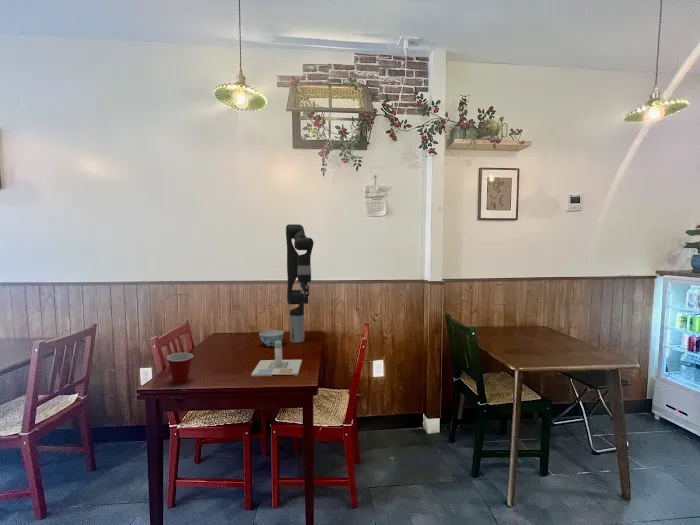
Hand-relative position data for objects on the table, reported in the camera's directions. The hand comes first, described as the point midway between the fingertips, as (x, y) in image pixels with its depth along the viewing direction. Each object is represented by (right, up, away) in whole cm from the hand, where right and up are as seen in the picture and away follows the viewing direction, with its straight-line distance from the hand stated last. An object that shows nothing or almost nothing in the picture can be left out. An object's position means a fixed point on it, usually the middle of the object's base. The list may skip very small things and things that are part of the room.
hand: (304, 302), depth 194 cm
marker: (-11, -30, -17) cm, 36 cm away
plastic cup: (-52, -33, -34) cm, 71 cm away
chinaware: (-24, -30, +23) cm, 44 cm away
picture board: (-11, -31, -19) cm, 38 cm away
